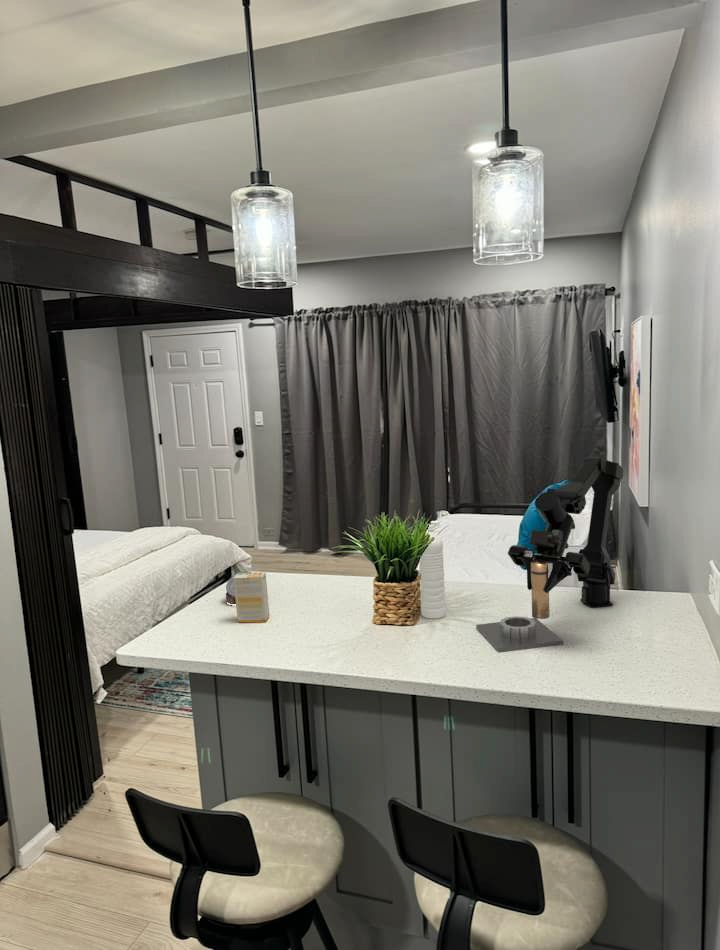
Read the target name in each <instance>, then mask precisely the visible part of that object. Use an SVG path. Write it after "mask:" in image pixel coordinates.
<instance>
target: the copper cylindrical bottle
mask: <svg viewBox="0 0 720 950" xmlns="http://www.w3.org/2000/svg"><path fill="white" fill-rule="evenodd" d="M549 570H550V569H549V563H548V562H547V561H542V560H536V561H532V562H531V590H530V592H531V594H530V596H531V617H532V618H536V619H538V620H545V619H548V618H550V591H549V592H548V593H546V592H545V587H546V584H547V581H548V579H549V576H550V571H549Z"/></svg>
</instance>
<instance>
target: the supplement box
mask: <svg viewBox="0 0 720 950" xmlns="http://www.w3.org/2000/svg"><path fill="white" fill-rule="evenodd" d="M237 573H238V574H237ZM237 573H236V574H237V575H236V576H235V577H234V578H233V579H234V589H235V599H236V607H235V608H236V618H237V623H238V622H247V623H266V622H267V621H268V620H269V618H270V617H269V616H270V606H269V596H268V595H269V593H268V586H267V585H268V583H267V574H266V573H267V572H266V571H259V572H258V571H257V572H252V573H239V572H237ZM267 619H268V620H267Z"/></svg>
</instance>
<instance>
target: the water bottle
mask: <svg viewBox="0 0 720 950" xmlns="http://www.w3.org/2000/svg"><path fill="white" fill-rule="evenodd" d="M428 525H429V527H428V534H429V535H430V536H432V537H434V538H436V539H435V540H434V541H433V542H432V543H431V544H430V545H429V546H428V547H427V549H426V550H425V552H424V554H423V555H422V557H421V558H420V561H419V562H418V563H419V573H420V572H421V575H422V576H421V578H420V579H421V585H420V587H421V590H420V606H421V607H420V609H421V616H422V617H423V618H426V619H431V620H433V619H434V620H437V619H441V618H443V617H445V616H446V611H447V610H446V599H445V597H446V593H445V589H446V588H445V567H444V543H443V539H442V538H441V536H440V535H439V534H438V533H437V531H436V530H435V529H436V528H435V527H437V526H438V527H439V526H440V525H441V522H440V520H431V521H430V524H428ZM437 535H438V537H437Z"/></svg>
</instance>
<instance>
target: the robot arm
mask: <svg viewBox="0 0 720 950" xmlns="http://www.w3.org/2000/svg"><path fill="white" fill-rule="evenodd" d="M582 463H583V464H582V465H581V466H580V468H579V469H578V471H577V472H576V473H575V475H574V476H572V478H571V480H570V481H569V482H567V484H564V485H561V486H559V487H558V488H557V489H556V488H549V487H548V488H547V490H546V491H545V492H542V493H541V494H540V495H538V496H537V497H535V500H534V506H535V508H536V510H537V512H538V514H539V515H540V516H541V518H542V519H543V521H544V522H545V523H546V528H545V530H535V529H531V531H530V537H529V542H528V543H529V544H530V545H531V544H532V545H534V546H533V549H534V550H535V551H537V552H534V551H530V550H529V549H528V547H527V546H525V545H524V546H523V545H516V544H513V545H511V546H510V547H509V549H508V551H507V555H508V556H509V558H510V559H511V561H512V562H513V563H514V565H516V566H518V567H525V570H526V583H527V589H528V591H531V562H532V561H536V560H542V561H547V562H548V564H552V565H551V566H552V567H551V571H550V572H549V579H548V581H547V584H546V587H545V592H546V593H548V592H549V593H550V592H551V590H553V589H554V588H555V587H556V586H557V585H558V584H559V583H560V582H561V581H563V580H564V579H566V578H567V577H571V576H572V575H573V573H572V570H573V572H574V573H575V575H576V576H577V581H578V582H582V586H581V598H580V602H582V603H583V604H585V605H586V606H588V607H590V608H592V609H593V608H599V607H600V608H601V607H602V608H603V607H610V606H613V605H614V603H613V602H612V601H611V589H610V588H611V586H612V585H615V580H616V572H615V571H614V569H613V567H612V564H611V557H610V555H609V552H608V551H607V548H606V547H607V546H606V545H607V538H608V530H609V524H610V523H609V522H610V516H611V509H612V508H611V507H612V500H613V495H614V494H615V493H616V492H617V490H618V489H619V488H620V486H621V481H622V480H623V477H624V468H623V466H621V465H620V463H619V462H613V461H610V460H607V459H606V458H604V457H601V456H600V457H599V456H595V457H593V456H588V457H585V458H584V459H583V462H582ZM591 488H592V491H593V498H592V499H593V500H592V507H591V513H590V522H589V529H588V535H587V536H588V537H587V543H586V545H585V546H584V547H583V548H581V549H579V551H578V552H573V551H568V552H566V554H565V556H564V552H565V549H566V550H567V549H568V548H569V544H568V541H569V538H570V534H571V533H572V532H571V531H572V530H575V529H576V524H575V520H574V518H573V517H572V515H571V514H574V515H580V514H581V513H582V512H583V511H584V510H585V507H586V505H587V500H586V495H587V493H589V491H590V490H591Z"/></svg>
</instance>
